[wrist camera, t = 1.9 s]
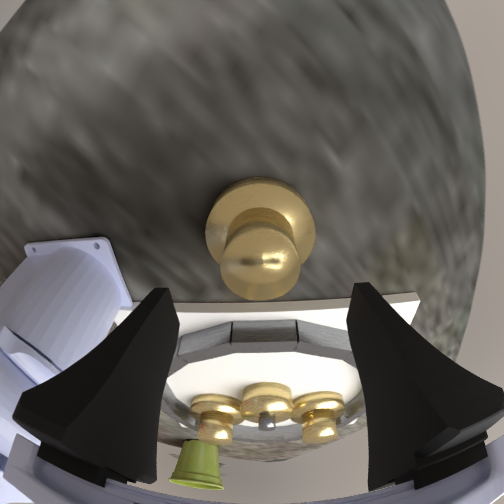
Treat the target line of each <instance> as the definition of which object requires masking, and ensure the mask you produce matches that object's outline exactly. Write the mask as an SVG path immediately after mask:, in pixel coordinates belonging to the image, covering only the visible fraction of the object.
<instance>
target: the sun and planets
mask: <svg viewBox="0 0 504 504" xmlns="http://www.w3.org/2000/svg"><path fill="white" fill-rule="evenodd" d="M344 412H345V405H344V399H343V396H342V395H341V394H340V393H338V392H334V391H318V392H312V393H308V394H304V395H302V396H299V397H297V398H295V399H294V400H292V390H291V388H290V387H288V386H286V385H284V384H281V383H276V382H259V383H255V384H251V385H249V386H247V387H245V388H244V389H243V391H242V401H240V400H239V399H237V398H234V397H231V396H227V395H223V394H212V393H209V394H200V395H197V396H195V397H193V399H192V401H191V407H190V415H191V416H192V417H193V418H194V419H196V420H198V421H200V422H199V429H198V436H197V439H198V440H199V441H201V442H203V443H206V444H211V445H221V446H222V445H229V444H231V443H232V436H233V425H238V424H240V423H242V422H244V420H247V421H250V422H253V423H258V429H259V430H261V431H273V430H275V429H276V423H279V422H283V421H286V420H288V419H291V420H292V421H293V422H295V423H298V424H302V436H303V442H304V443H307V444H319V443H325V442H328V441H331V440H334V439H335V438H337V436H338V435H337V427H336V420H335V419H336V418H338V417H340V416H341V415H342V414H343V413H344Z"/></svg>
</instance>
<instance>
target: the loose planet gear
mask: <svg viewBox="0 0 504 504" xmlns="http://www.w3.org/2000/svg"><path fill="white" fill-rule="evenodd" d="M205 236H206V243H207V247H208V249H209V252H210V253H211V255H212V257H213V258H214V260H215V261H216V262H217V263H218V264H219V265H220V266H221V267H220V270H221V276H222V279H223V281H224V283H225V284H226V285H227V287H228V288H229V289H230V290H231V291H233V292H234V293H235V294H237V295H239V296H241V297H243V298H246V299H250V300H258V301H263V300H271V299H274V298H277V297H280V296H282V295H284V294H285V293H287V292H288V291H289V290H290V289H291V288H292V287H293V286H294V285H295V283H296V282H297V280H298V277H299V274H300V266H301V265H302V264H303V263H304V262H305V261H306V259H307V258H308V256H309V255H310V253H311V251H312V249H313V245H314V242H315V225H314V221H313V218H312V215H311V213H310V210H309V207H308V205H307V203H306V201H305V200H304V198H303V197H302V195H301V194H300V193H299V192H298V191H297V190H296V189H294V188H293V187H292V186H290V185H289V184H287V183H285V182H283V181H280V180H278V179H274V178H269V177H251V178H247V179H243V180H240V181H238V182H236V183H234V184H232V185H230V186H229V187H227V188H226V189H225V190H224V191H223V192H222V193H221V194H220V195H219V196H218V198H217V199H216V201H215V202H214V204H213V207H212V209H211V212H210V214H209V217H208V220H207V224H206V230H205Z"/></svg>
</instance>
